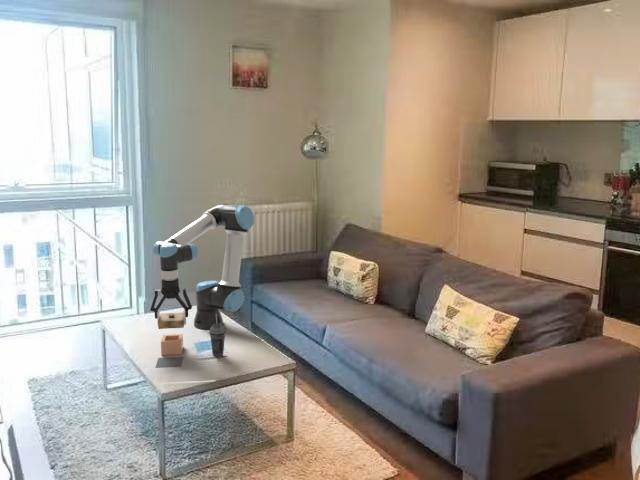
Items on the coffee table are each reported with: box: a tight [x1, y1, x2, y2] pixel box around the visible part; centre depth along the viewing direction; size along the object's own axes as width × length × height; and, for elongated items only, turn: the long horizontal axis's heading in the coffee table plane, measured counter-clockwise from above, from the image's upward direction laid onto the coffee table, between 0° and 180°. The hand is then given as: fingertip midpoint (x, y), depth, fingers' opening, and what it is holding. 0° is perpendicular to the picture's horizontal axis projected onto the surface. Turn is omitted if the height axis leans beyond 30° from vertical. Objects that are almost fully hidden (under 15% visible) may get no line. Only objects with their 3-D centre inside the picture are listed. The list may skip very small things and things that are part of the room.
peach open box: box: [160, 333, 184, 356], centre depth 272 cm, size 9×9×7 cm
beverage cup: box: [209, 314, 226, 358], centre depth 267 cm, size 7×7×20 cm
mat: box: [155, 356, 184, 369], centre depth 260 cm, size 11×11×1 cm
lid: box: [157, 312, 185, 330], centre depth 270 cm, size 11×11×4 cm
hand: (172, 324), depth 270 cm, fingers closed on lid, 11 cm apart
